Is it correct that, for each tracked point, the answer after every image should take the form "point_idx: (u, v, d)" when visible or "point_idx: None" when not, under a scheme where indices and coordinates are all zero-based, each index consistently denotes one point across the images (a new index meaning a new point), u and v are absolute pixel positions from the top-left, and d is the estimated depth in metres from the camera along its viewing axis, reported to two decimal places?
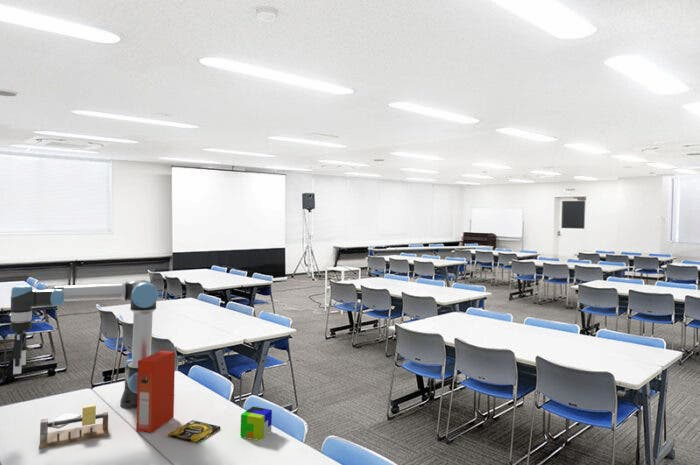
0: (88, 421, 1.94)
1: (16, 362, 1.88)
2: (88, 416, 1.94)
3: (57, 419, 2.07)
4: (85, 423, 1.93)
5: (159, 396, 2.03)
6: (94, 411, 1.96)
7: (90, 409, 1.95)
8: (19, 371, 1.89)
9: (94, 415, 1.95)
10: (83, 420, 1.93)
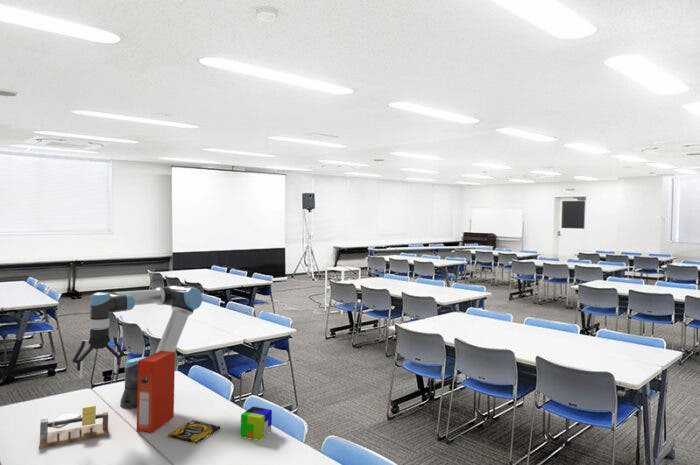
0: (88, 421, 1.94)
1: (77, 366, 1.94)
2: (88, 416, 1.94)
3: (57, 419, 2.07)
4: (85, 423, 1.93)
5: (159, 396, 2.03)
6: (94, 411, 1.96)
7: (90, 409, 1.95)
8: (80, 376, 1.94)
9: (94, 415, 1.95)
10: (83, 420, 1.93)
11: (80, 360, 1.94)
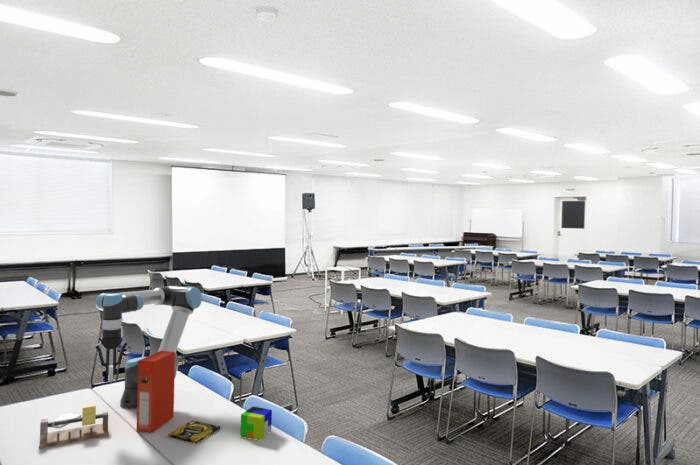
0: (88, 421, 1.94)
1: None
2: (88, 416, 1.94)
3: (57, 419, 2.07)
4: (85, 423, 1.93)
5: (159, 396, 2.03)
6: (94, 411, 1.96)
7: (90, 409, 1.95)
8: (108, 379, 1.98)
9: (94, 415, 1.95)
10: (83, 420, 1.93)
11: (107, 363, 1.98)
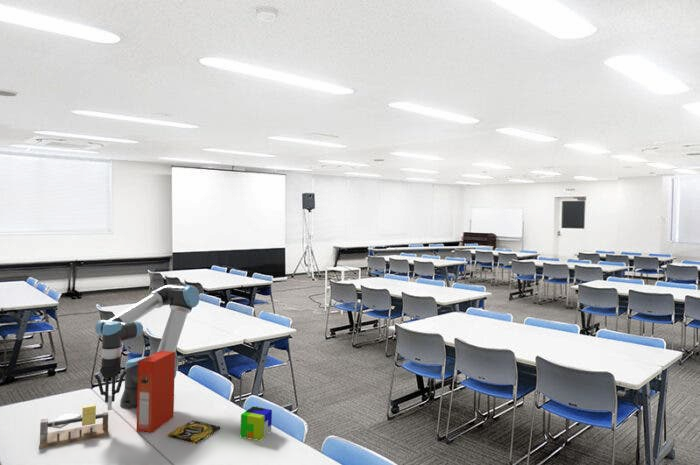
0: (88, 421, 1.94)
1: (105, 398, 1.99)
2: (88, 416, 1.94)
3: (57, 419, 2.07)
4: (85, 423, 1.93)
5: (159, 396, 2.03)
6: (94, 411, 1.96)
7: (90, 409, 1.95)
8: (107, 408, 1.98)
9: (94, 415, 1.95)
10: (83, 420, 1.93)
11: (106, 392, 1.98)
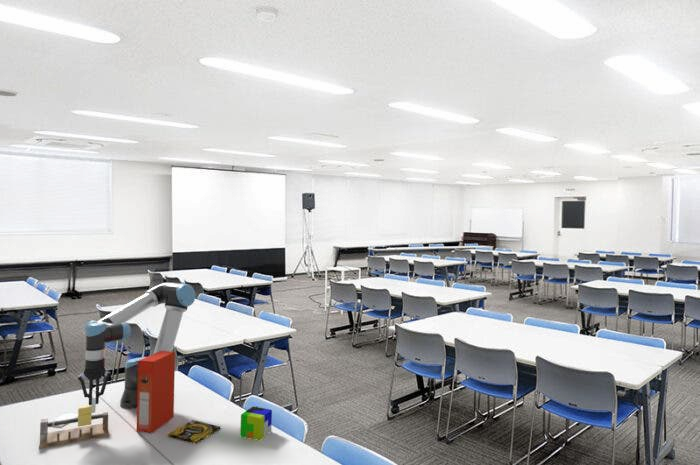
0: (84, 422, 1.93)
1: None
2: (84, 417, 1.93)
3: (58, 419, 2.07)
4: (81, 424, 1.92)
5: (159, 396, 2.03)
6: (90, 412, 1.95)
7: (86, 410, 1.94)
8: None
9: (90, 416, 1.94)
10: (79, 421, 1.92)
11: (90, 394, 1.95)
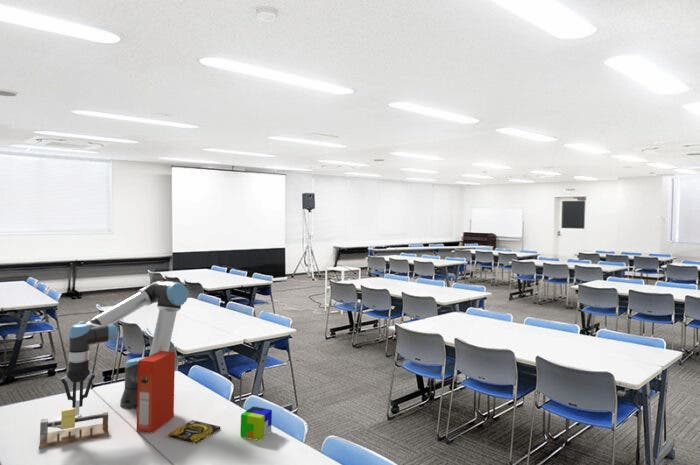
0: (67, 424, 1.90)
1: (72, 403, 1.92)
2: (67, 419, 1.90)
3: (58, 419, 2.07)
4: (64, 427, 1.89)
5: (159, 396, 2.03)
6: (74, 414, 1.92)
7: (69, 412, 1.91)
8: (75, 413, 1.92)
9: (73, 418, 1.91)
10: (62, 423, 1.89)
11: (74, 397, 1.91)
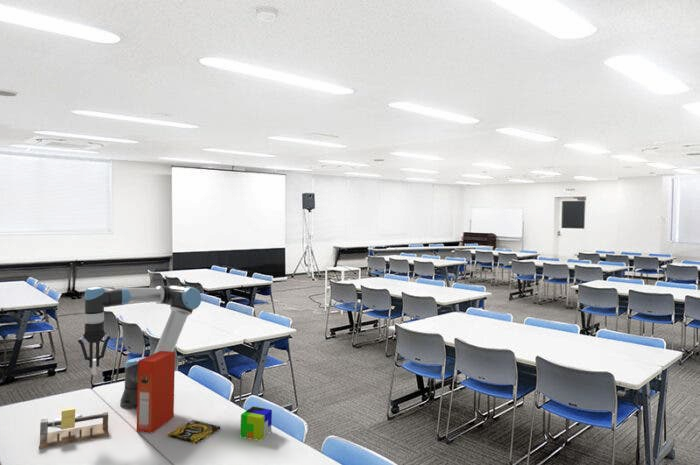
0: (67, 424, 1.90)
1: (89, 363, 1.98)
2: (67, 419, 1.90)
3: (58, 419, 2.07)
4: (64, 427, 1.89)
5: (159, 396, 2.03)
6: (74, 414, 1.92)
7: (69, 412, 1.91)
8: (92, 372, 1.98)
9: (73, 418, 1.91)
10: (62, 423, 1.89)
11: (91, 357, 1.98)
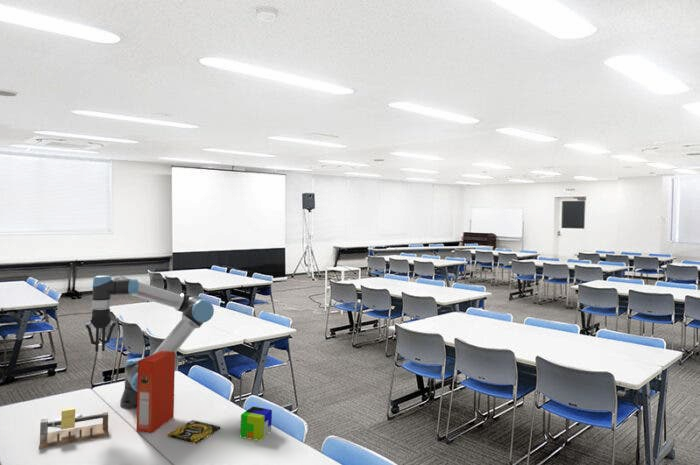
0: (67, 424, 1.90)
1: (95, 347, 2.09)
2: (67, 419, 1.90)
3: (58, 419, 2.07)
4: (64, 427, 1.89)
5: (159, 396, 2.03)
6: (74, 414, 1.92)
7: (69, 412, 1.91)
8: (98, 356, 2.08)
9: (73, 418, 1.91)
10: (62, 423, 1.89)
11: (97, 342, 2.08)
